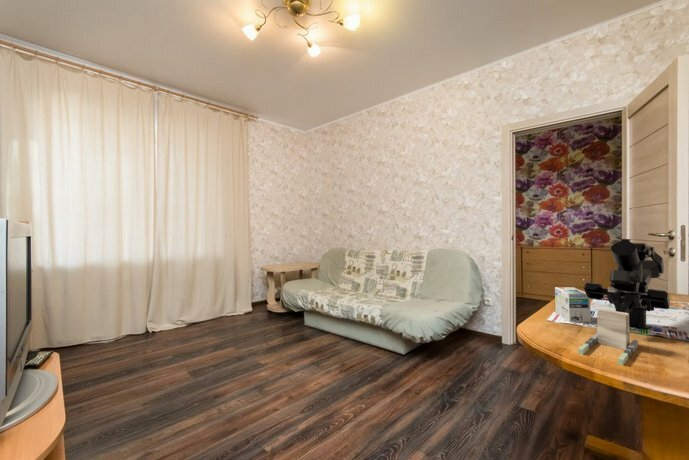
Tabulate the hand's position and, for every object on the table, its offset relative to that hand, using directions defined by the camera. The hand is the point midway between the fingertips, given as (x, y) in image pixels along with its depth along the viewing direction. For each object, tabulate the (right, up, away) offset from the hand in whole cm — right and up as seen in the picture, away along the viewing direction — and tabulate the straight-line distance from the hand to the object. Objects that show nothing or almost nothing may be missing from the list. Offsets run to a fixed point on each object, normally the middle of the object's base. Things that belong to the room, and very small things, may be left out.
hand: (619, 318), depth 90 cm
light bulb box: (0, -6, +19) cm, 20 cm away
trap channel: (-9, -7, -7) cm, 14 cm away
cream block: (-5, -6, -4) cm, 9 cm away
